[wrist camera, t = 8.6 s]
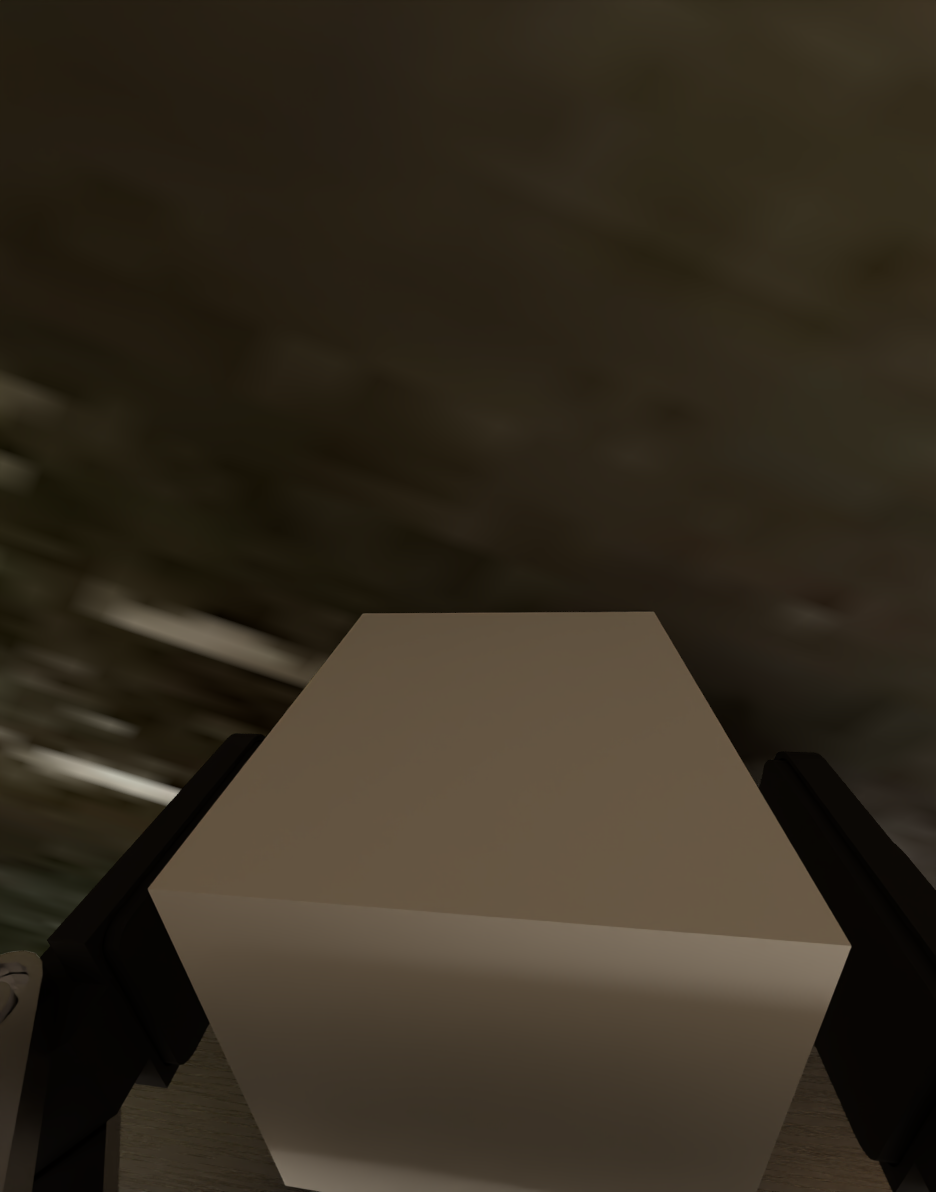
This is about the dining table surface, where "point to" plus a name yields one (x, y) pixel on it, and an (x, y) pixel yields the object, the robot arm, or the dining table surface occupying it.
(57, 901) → the dining table surface
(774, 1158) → the bulkhead
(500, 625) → the plug
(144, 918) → the robot arm
